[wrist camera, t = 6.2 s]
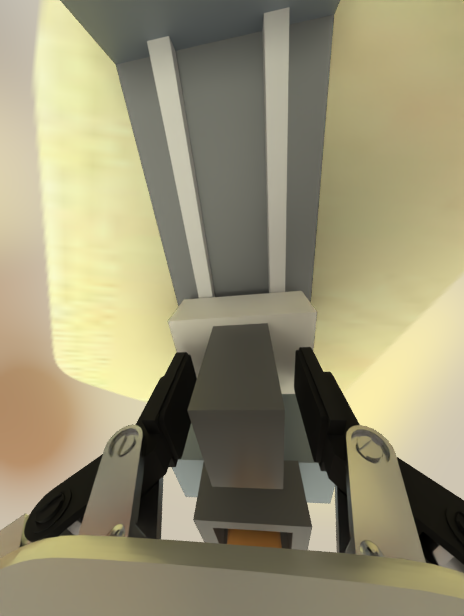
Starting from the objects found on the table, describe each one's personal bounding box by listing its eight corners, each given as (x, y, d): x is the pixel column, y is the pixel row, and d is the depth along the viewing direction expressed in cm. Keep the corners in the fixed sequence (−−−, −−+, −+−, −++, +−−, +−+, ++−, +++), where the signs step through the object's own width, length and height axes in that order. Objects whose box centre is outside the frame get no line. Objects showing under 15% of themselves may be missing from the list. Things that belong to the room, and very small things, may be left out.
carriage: (183, 299, 13) (108, 400, 6) (301, 290, 12) (379, 396, 5) (199, 364, 16) (160, 489, 9) (297, 361, 15) (345, 497, 8)
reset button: (226, 504, 10) (218, 607, 7) (278, 506, 10) (290, 616, 7) (231, 524, 11) (227, 619, 9) (278, 527, 11) (288, 627, 8)
